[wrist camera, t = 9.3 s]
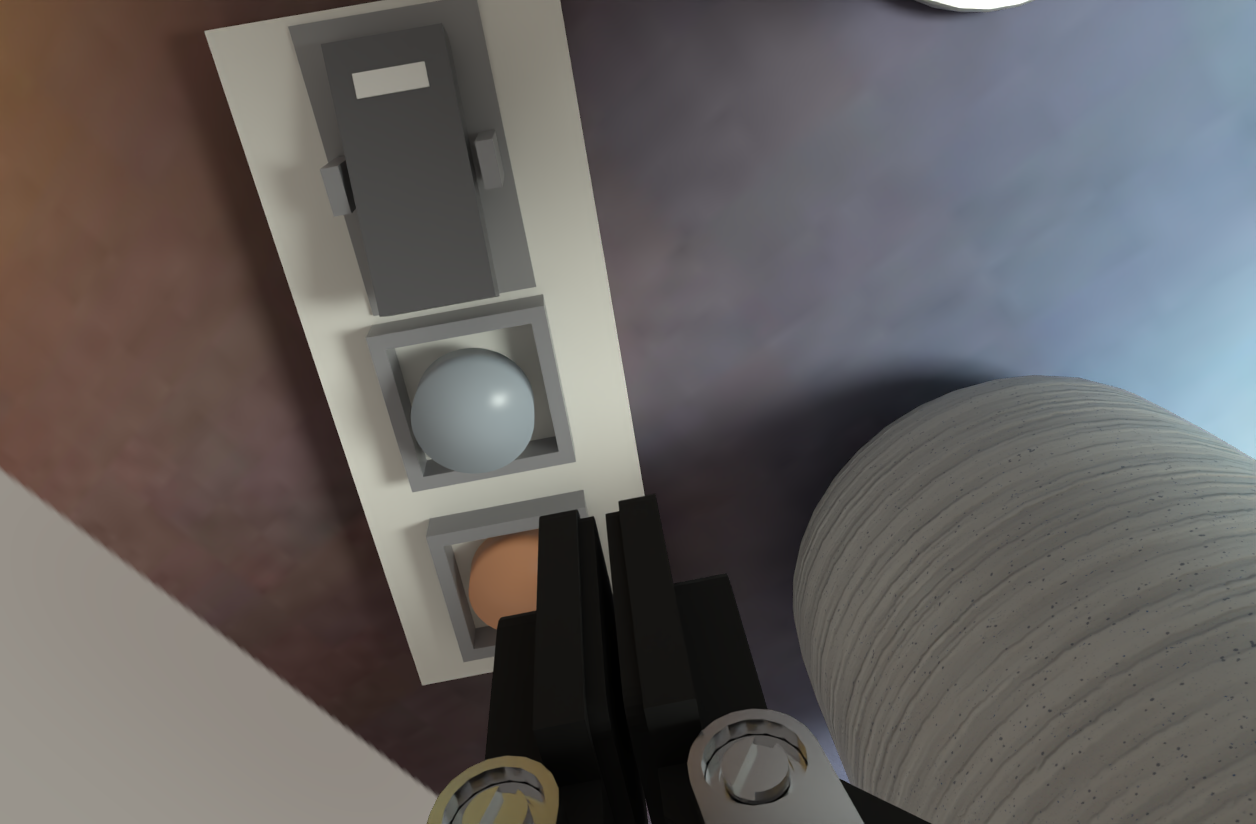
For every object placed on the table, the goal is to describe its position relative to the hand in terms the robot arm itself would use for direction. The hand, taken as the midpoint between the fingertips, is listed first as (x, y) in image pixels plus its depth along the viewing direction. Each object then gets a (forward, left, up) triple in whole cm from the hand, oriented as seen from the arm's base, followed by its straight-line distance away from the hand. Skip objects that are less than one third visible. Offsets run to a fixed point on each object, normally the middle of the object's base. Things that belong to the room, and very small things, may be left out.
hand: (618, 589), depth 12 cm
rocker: (+5, -3, -21) cm, 22 cm away
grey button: (+5, +6, -22) cm, 23 cm away
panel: (+5, +6, -26) cm, 27 cm away
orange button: (+5, +15, -23) cm, 28 cm away
